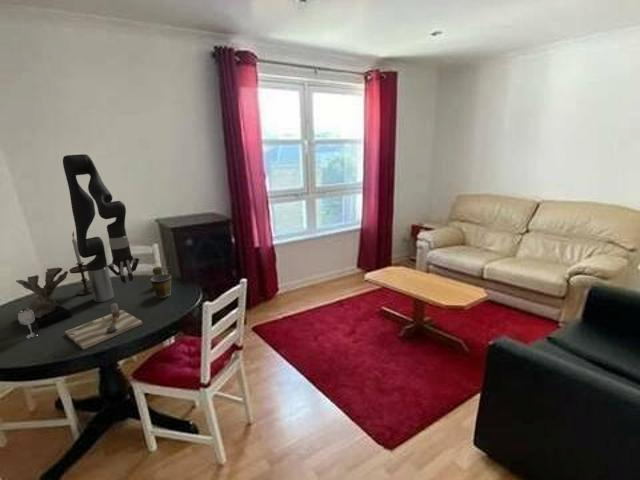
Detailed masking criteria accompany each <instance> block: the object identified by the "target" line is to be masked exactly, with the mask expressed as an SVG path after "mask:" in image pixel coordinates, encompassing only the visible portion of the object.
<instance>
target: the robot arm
mask: <svg viewBox="0 0 640 480" xmlns="http://www.w3.org/2000/svg"><path fill="white" fill-rule="evenodd" d="M62 165H63V170H64V174H65V177H66V178H65V179H66V182H67V185H68V191H69V196H70V197H69V198H70V204H71V209H72V212H71V213H72V216H73V220H74V226H75V232H76V233H75V236H76V241H77V247H78V252H79V254H80V257H81V258H83V259H87V258H90V257H94V258H93V259H92V260H90V261H88V262H87V264H85V265H86V269H87V271H86V272H87V275H88V279H89V284H90V287H91V289H92V296H93V301H94V302H97V303H102V302H107V301H109V300H111V299H113V298H114V297H115V294H114V290H113V284H112V280H111V275H110V272H109V270H110V271H111V272H112V273H113V274H114V275H115V276H118V277H119V278H120V281H121V282H122V283H123V284H126V283H127V281H126V276H125V273H124V270H126V271H127V277H128V281H129V282H133V279H134V276H133V272H136V271H137V267H138V264H139V261H140V258H137V257H133V255H132V252H131V247H130V242H129V238H128V236H127V231H126V214H127V209H126V205H125V203H124V202H122V201H121V200H115V201H113V195H112V193H111V192H110V191H109V189H108V188H107V186H106V185H105V184H104V182H103V180H102V178H101V176H100V174H99V171H98V169H97V167H96V165H95V164H94V161H93V160H92V158H91V157H90V156H89V155H88V154H67V155H63V158H62ZM84 175H89V177H90V178H89V181H88V183H87V184H88V187H87V191H88V192H86V190H84V189H83V188H82V186H81V185H80V183H79V181H78V179H77V176H84ZM88 193H89V194H90V195H89V194H88ZM94 201H95V202H94ZM95 204H96V207H97V213H98V216H99V217H100V218H101V219H104V220H110V219H115V221H113V222H111V223H109V224H107V225H106V231H107V237H108V241H109V248H110V252H111V256H112V261H111V263H110V264H108V262H107V255H106V250H105V245H104V241H103V239H102V238H101V237H99V236H94V237H93V236H92V237H89V238H87V235H88V230H89V228H90V227H91V225H92V223H93V221H94V219H95V216H96V209H95ZM131 264H132V266H131ZM115 266H116V267H117V269H118V270H116V269H115ZM125 268H126V269H125Z"/></svg>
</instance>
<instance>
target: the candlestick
mask: <svg viewBox="0 0 640 480" xmlns="http://www.w3.org/2000/svg"><path fill="white" fill-rule="evenodd" d="M71 243H72V246H73V249H74V253H75V257H76V260H77V263H76V264H75V265H76V266H73V267H71V268H70V269H69V270H68V271H69V274H81V279H80V281H81V282H82V286H83V288H82V289H79V290H78V291H77V296H79V297H80V296H88V295H91V294H92V295H93V293H92V289H91V286H90V287H88V281H87V280H88V279H87V277H86V276H85V272H87V269H86V265H87V264H85V262H84V261H83V262H82V257H81V256H80V254H79V252H78V247H77V238H75V232H74V231H72V240H71Z"/></svg>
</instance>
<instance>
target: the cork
mask: <svg viewBox="0 0 640 480" xmlns="http://www.w3.org/2000/svg"><path fill="white" fill-rule="evenodd" d="M152 273H153V275H154V276H153V277H155V276H158V275H163V273H164V272H163V268H162V266H155V267H154V268H152Z"/></svg>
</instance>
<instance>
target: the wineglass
mask: <svg viewBox="0 0 640 480" xmlns="http://www.w3.org/2000/svg"><path fill="white" fill-rule="evenodd" d="M17 319H18V322H19V324H20V325H22V326H27V328H28V329H29V331H30V334H27V335H26V337H27V338H26V339H31V338H30V337H33V338H35V337H34V336H36V337H37V336H39V335H38V334H40V333H39V332H33V330H32V325H30V324H31V323H33V322H34V321H35V319H36V316H35V313H34V312H33V310H32V309H31V308H28V307H27V308H24V309H23V308H22V309H21V310H18V312H17Z"/></svg>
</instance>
